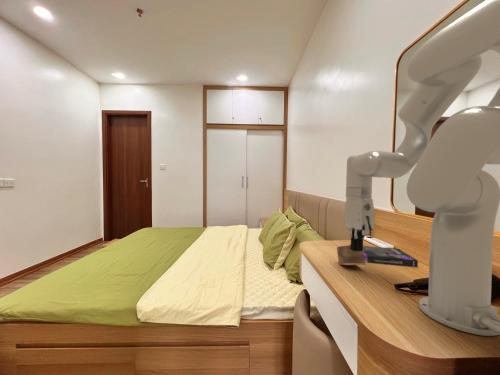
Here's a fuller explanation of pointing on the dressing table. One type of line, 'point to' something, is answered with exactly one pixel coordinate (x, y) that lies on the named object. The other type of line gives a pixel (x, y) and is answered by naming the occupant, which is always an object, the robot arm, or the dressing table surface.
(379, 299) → the dressing table surface
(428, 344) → the dressing table surface
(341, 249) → the walnut block
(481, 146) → the robot arm
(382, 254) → the box
